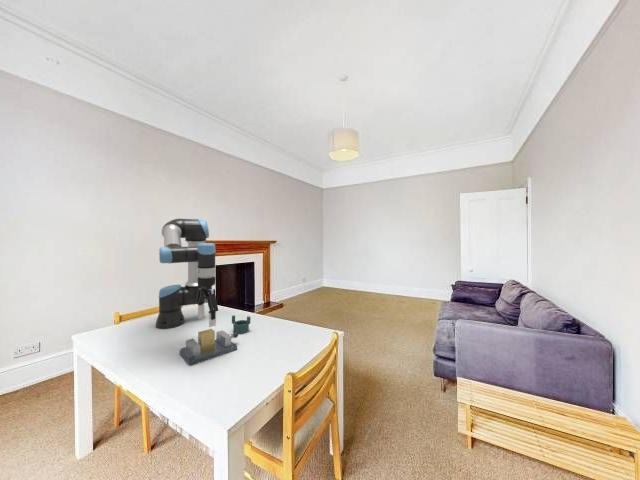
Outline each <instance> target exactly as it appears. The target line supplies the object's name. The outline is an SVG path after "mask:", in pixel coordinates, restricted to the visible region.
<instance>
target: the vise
mask: <svg viewBox="0 0 640 480" xmlns="http://www.w3.org/2000/svg"><path fill="white" fill-rule="evenodd" d="M235 351H238V345H237V344H235V343H234V342H232V341H231V346H228V347H224V346H223V345H221V344H220V343H219V342H217V341H216V339H215V348H213V349H210V350H207V351H204V352H201V346H200V345H199V344H198V341H196V340H195V339H194V338H190V339H187V340H185V347H181V348H180V349H179V356H180V357H181V358H182V359H183V361H185V363H186V364H187V365H188V367H191V366H194V365H197V364H200V363H203V362H206V361H209V360H212V359H215V358H217V356H218V357H220V356H223V355H225V354H226V355H227V354H229V353H231V352H232V353H233V352H235ZM214 357H215V358H214ZM211 358H212V359H211ZM208 359H209V360H208ZM205 360H206V361H205ZM202 361H203V362H202ZM199 362H200V363H199Z"/></svg>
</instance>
